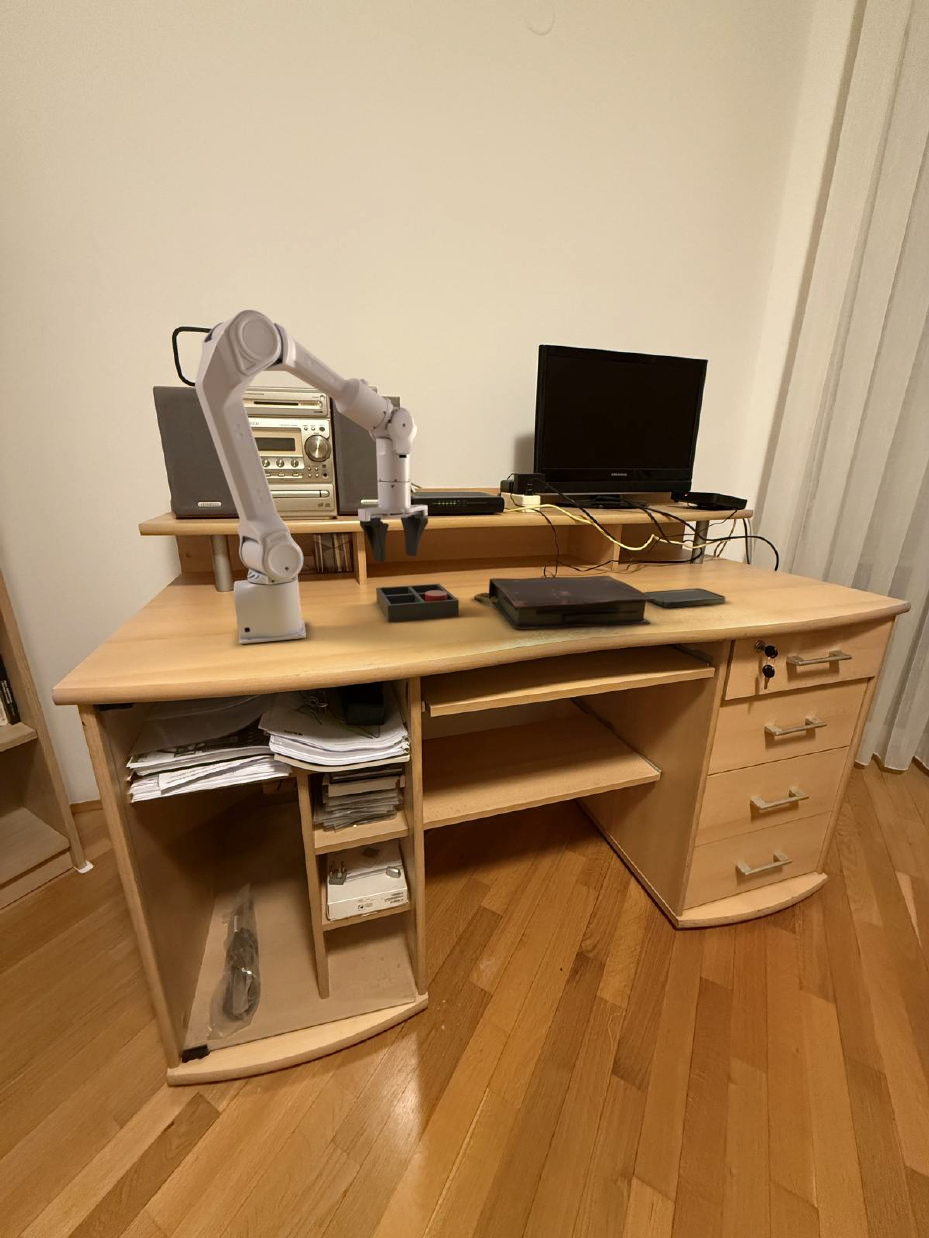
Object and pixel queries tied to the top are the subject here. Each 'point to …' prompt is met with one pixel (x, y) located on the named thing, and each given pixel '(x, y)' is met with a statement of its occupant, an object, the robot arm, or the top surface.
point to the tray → (415, 603)
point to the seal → (485, 599)
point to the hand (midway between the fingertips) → (395, 558)
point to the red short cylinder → (435, 595)
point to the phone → (685, 597)
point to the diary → (568, 602)
